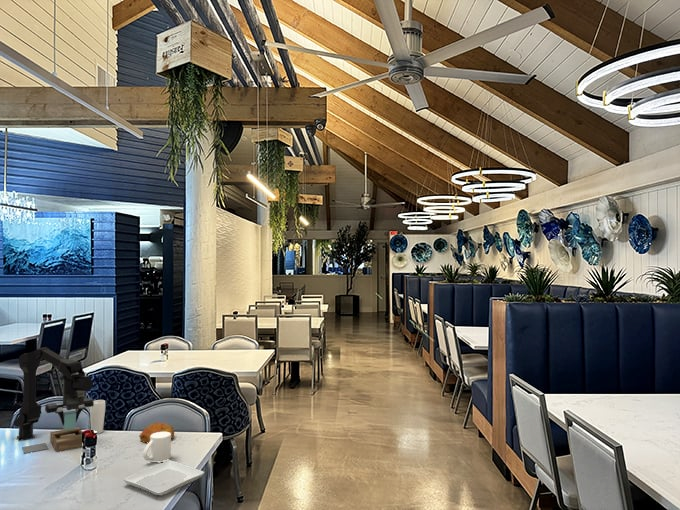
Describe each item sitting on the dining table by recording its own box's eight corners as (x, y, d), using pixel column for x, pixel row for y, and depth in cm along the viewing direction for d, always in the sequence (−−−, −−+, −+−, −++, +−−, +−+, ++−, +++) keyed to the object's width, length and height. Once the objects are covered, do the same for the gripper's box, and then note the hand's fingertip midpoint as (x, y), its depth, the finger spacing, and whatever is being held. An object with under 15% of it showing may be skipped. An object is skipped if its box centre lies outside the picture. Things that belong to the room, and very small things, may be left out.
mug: (175, 433, 204) (150, 441, 194) (174, 458, 204) (149, 467, 194) (163, 430, 209) (138, 437, 199) (162, 454, 208) (137, 463, 198)
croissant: (160, 436, 237) (160, 419, 239) (179, 438, 228) (179, 421, 230) (133, 443, 226) (132, 426, 227) (152, 446, 217) (151, 427, 218)
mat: (21, 447, 214) (21, 447, 214) (45, 443, 219) (45, 442, 219) (24, 454, 207) (24, 453, 207) (48, 449, 212) (48, 448, 212)
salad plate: (158, 502, 166) (159, 492, 166) (121, 487, 177) (121, 477, 177) (205, 480, 184) (206, 471, 184) (169, 467, 195) (169, 459, 195)
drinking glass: (98, 435, 231) (99, 403, 232) (85, 434, 233) (86, 402, 233) (107, 430, 238) (108, 400, 238) (95, 429, 239) (96, 399, 240)
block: (62, 427, 220) (63, 412, 220) (73, 426, 222) (74, 410, 223) (64, 430, 216) (64, 414, 216) (75, 428, 219) (76, 413, 219)
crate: (50, 442, 221) (50, 431, 222) (79, 436, 229) (79, 426, 229) (56, 452, 209) (56, 441, 209) (86, 446, 217) (87, 436, 217)
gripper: (49, 396, 208) (48, 433, 207) (96, 390, 220) (95, 424, 219) (45, 391, 216) (44, 426, 216) (91, 385, 228) (90, 419, 228)
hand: (69, 424), depth 219 cm, fingers closed on block, 4 cm apart
